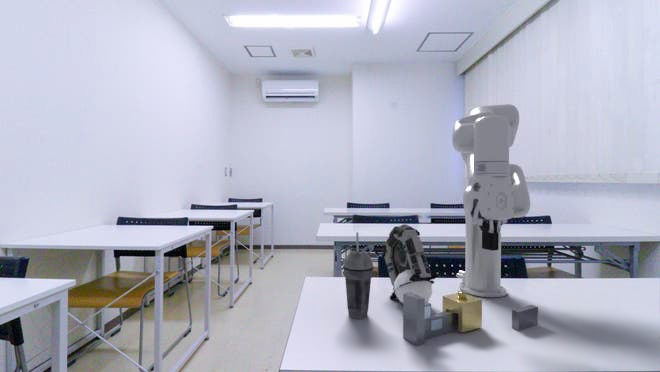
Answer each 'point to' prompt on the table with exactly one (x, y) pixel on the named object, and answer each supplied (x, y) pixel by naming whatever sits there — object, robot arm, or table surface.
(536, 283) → the table surface
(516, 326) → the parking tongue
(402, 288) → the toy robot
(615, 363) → the table surface
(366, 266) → the beverage cup
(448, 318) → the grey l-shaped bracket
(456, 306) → the tan box with knob
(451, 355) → the table surface
